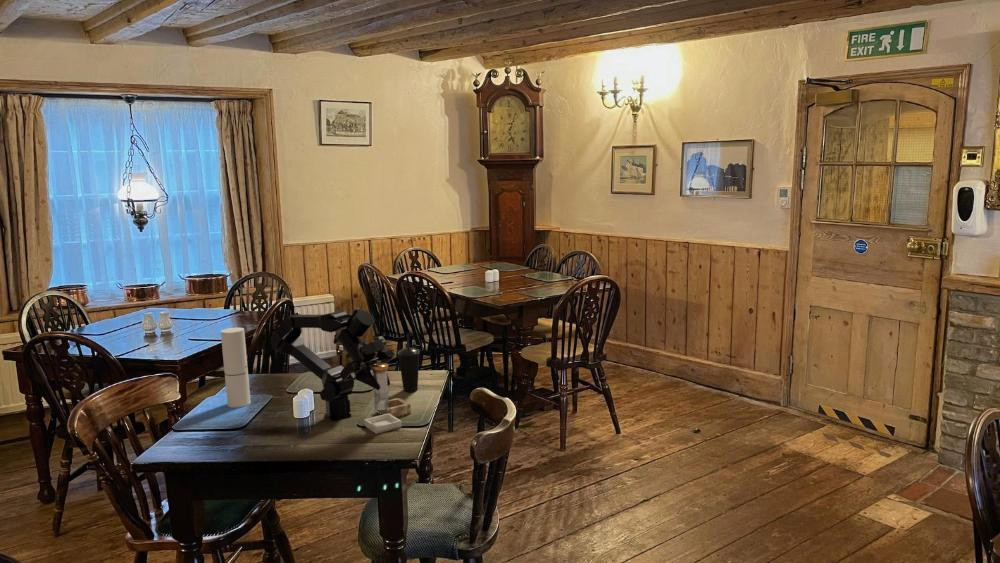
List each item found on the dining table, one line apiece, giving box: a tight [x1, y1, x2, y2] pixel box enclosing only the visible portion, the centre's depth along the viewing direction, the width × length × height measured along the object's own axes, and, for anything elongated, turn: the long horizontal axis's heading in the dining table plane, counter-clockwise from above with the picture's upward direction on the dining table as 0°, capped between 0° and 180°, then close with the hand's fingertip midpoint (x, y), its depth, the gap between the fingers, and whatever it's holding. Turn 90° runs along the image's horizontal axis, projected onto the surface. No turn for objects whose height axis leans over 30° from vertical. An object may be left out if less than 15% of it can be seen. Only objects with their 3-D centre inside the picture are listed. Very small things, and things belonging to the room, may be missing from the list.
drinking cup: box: [397, 332, 421, 393], centre depth 243 cm, size 8×8×20 cm
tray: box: [363, 413, 403, 435], centre depth 211 cm, size 8×8×2 cm
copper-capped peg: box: [370, 363, 389, 411], centre depth 209 cm, size 5×5×13 cm
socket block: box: [376, 397, 412, 418], centre depth 222 cm, size 8×8×3 cm
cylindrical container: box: [220, 327, 252, 408], centre depth 232 cm, size 7×7×25 cm
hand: (384, 387), depth 208 cm, fingers closed on copper-capped peg, 4 cm apart
